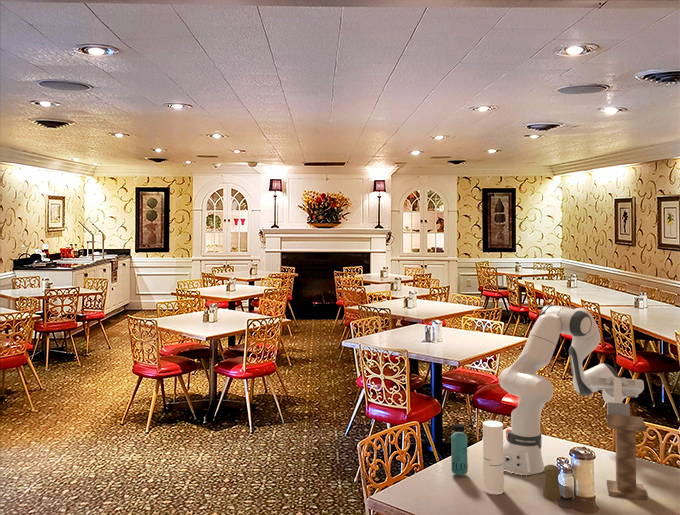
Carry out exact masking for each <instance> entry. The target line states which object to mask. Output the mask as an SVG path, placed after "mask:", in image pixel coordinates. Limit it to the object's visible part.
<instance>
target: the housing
mask: <svg viewBox="0 0 680 515" xmlns="http://www.w3.org/2000/svg"><path fill="white" fill-rule="evenodd" d="M613 379H614V381H613V396H614V403H609V402H607V403H606V414H609V415H621V416H631V408H630V403H623V401H622V379H621V377H620V378H613Z"/></svg>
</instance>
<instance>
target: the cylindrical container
mask: <svg viewBox="0 0 680 515" xmlns="http://www.w3.org/2000/svg"><path fill="white" fill-rule="evenodd" d="M503 441H504V424H503V422H500V421H497V420H485V421H483V422H482V450H483V451H482V453H483V454H482V459H483V460H482V462H483V464H482V466H483V489H484V488H485V489H486V490H488V491H492V492H501V491H503V490H504V491H505V477H504V474H505V472H504V464H503Z"/></svg>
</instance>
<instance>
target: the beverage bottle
mask: <svg viewBox="0 0 680 515" xmlns="http://www.w3.org/2000/svg"><path fill="white" fill-rule="evenodd" d="M453 431H454V432H453V433H452V434H451V436H450V439H451V440H450V441H451V443H450V444H451V450H450V451H451V456H450V457H451V460H450V462H451V465H450V466H451V467H450V468H451V472H452V474H454V475H457V476H458V475H459V476H463V475H467V473H468V472H469V470H468V469H469V468H468V467H469V464H468V445H469V444H468V436H467V434H465V433H464V432H465V424H462V423H455V424H454V425H453Z"/></svg>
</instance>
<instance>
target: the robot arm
mask: <svg viewBox="0 0 680 515" xmlns="http://www.w3.org/2000/svg"><path fill="white" fill-rule="evenodd" d="M561 334H564V335H567V336H571V337H572V338H571V339H572V340H571V344H570V346H569V348H568V357H569V364H570V369H571V375H572V377H571V379H572V386H573V388H574V389H575V390H574V391H576V393H577V394H579V395H580V396H585V397H589V396H590V395H593V394H594V393H595V392H598V391H602V392H601V394H602V395H601V396H602V399H603V401H604V402H605V403H606V404H607V402H609V403H614V396H613V381H614V379H613V378H621V379H622V402H623V401H624V399H627V398H628V399H629V398H638V397H639V395H640V394H641V393H643V391H644V390H645V383H644V380H643V379H636V378H635V379H633V378H626V377H620V376H619V374H618V373H617V371H616V370H615V368H614V367H613V366H612V365H609V364H607V363H606V362H605V363H604V362H602V363H599V364H597V365H595V366H593V367H590V368H589V369H586V370H584V367H583V362H584V360H585V359H586V358H587V357H588V356H589V355H590V354H591V353H592V352H593V351H594V350H596V349H597V348H598V347H599V344H600V342H601V333H600V329H599V326H598V324H597V322H596V320H595V319H594V316H593V315H592V313H591V312H590V311H589V309H587V308H584V307H576V308H571V307H568V306H564V305H563V306H562V305H555V304H547V305H544V306H543V307H542V308H541V310H540V312H539V314H538V318H537V319H536V321H535V322H534V324H533V326H532V328H531V330H530V333H529V334H528V337H527V340H526V342H525V345H524V346H523V349H522V351H521V353H520V354H519V356H518V357H517V358H516V359H515V360H514V362H513V363H512V364H511V365H510V366H508V367H506V368H504V369H502V370H501V372H500V374H499V376H498V384H499V386H500V387H501V388H502V389H503V390H504V391H506V393H508V394H509V395H513V396H515V397H518V405H517V407H515V408H514V409H512V411H511V414H510V418H511V419H510V421H511V422H510V424H511V425H510V426H511V428H506V429H505V440H503V464H504V470H507V471H510V472H513V473H517V474H521V475H520V476H522V475H526V476H525V477H528V476H527V475H529V476H531V475H537V474H540V473H543V472H544V467H545V465H544V461H543V455H542V444H543V441H542V438H543V437H542V433H541V415H542V411H543V408H544V405H545V404H546V403H548V402H549V401H550V400H551V399H552V397H553V393H554V386H553V383H552V382H551V381H550V380H549V379H547V378H546V377H544V376H542V375H540V374H537V373H538V371H540V370H541V369H542V368H544V367H546V366H548V365H549V364H550V362H551V360H552V357H553V355H554V352H555V349H556V347H557V345H558V342H559V338H560V335H561ZM517 474H516V475H517ZM530 474H531V475H530Z"/></svg>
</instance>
